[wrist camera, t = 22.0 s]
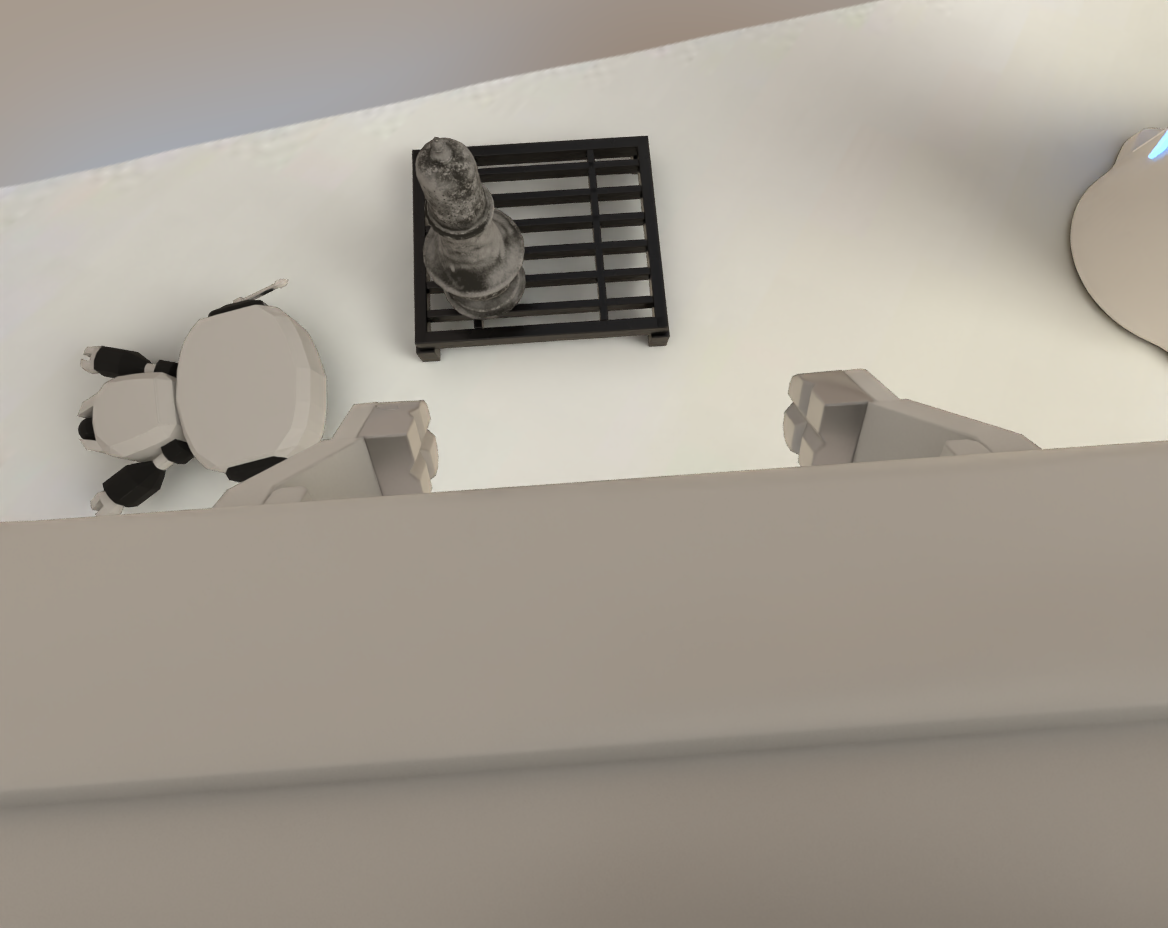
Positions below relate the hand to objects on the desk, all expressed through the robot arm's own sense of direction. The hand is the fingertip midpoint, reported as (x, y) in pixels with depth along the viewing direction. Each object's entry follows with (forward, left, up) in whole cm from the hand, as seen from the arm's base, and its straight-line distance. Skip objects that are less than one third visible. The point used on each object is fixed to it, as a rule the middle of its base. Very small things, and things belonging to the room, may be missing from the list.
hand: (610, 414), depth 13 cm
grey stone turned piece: (+6, -15, -21) cm, 26 cm away
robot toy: (+23, -8, -23) cm, 34 cm away
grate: (+2, -18, -23) cm, 30 cm away
